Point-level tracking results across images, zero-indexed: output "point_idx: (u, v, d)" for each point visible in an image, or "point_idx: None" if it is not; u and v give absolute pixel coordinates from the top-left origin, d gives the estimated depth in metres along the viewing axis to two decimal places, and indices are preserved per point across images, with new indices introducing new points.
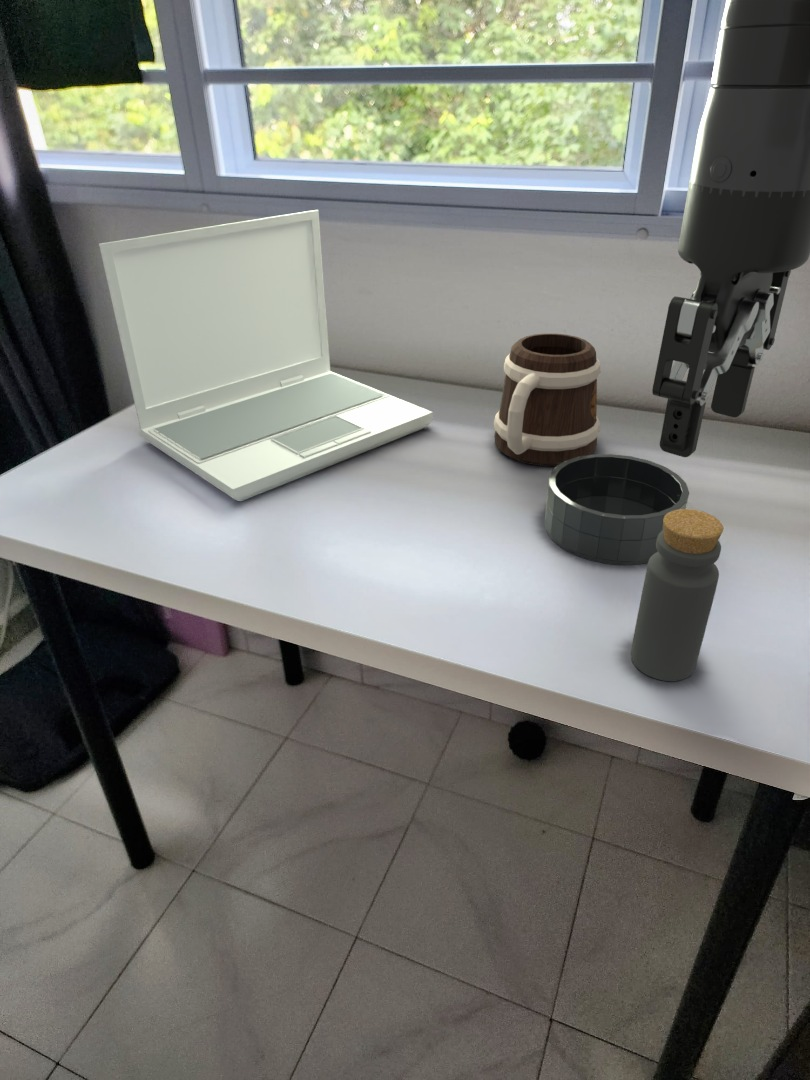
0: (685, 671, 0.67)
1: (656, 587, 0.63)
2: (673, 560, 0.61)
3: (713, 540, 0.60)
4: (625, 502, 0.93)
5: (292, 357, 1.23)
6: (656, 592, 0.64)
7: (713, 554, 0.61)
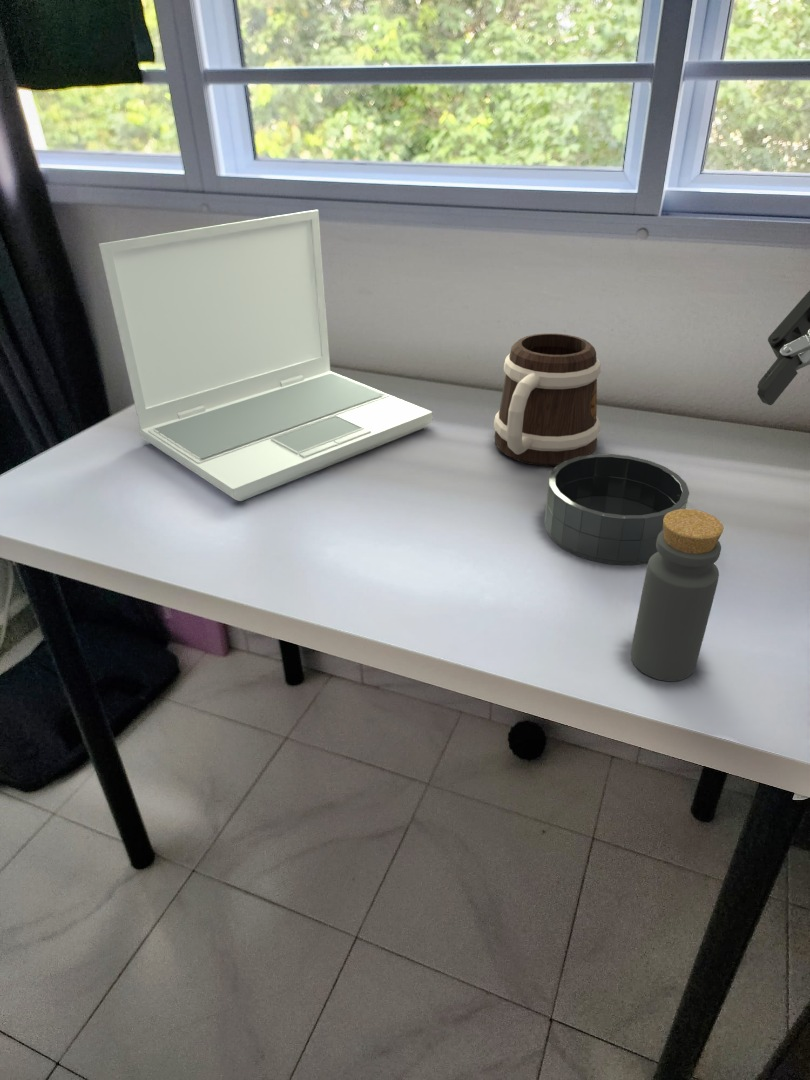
0: (685, 671, 0.67)
1: (656, 587, 0.63)
2: (673, 560, 0.61)
3: (713, 540, 0.60)
4: (625, 502, 0.93)
5: (292, 357, 1.23)
6: (656, 592, 0.64)
7: (713, 554, 0.61)
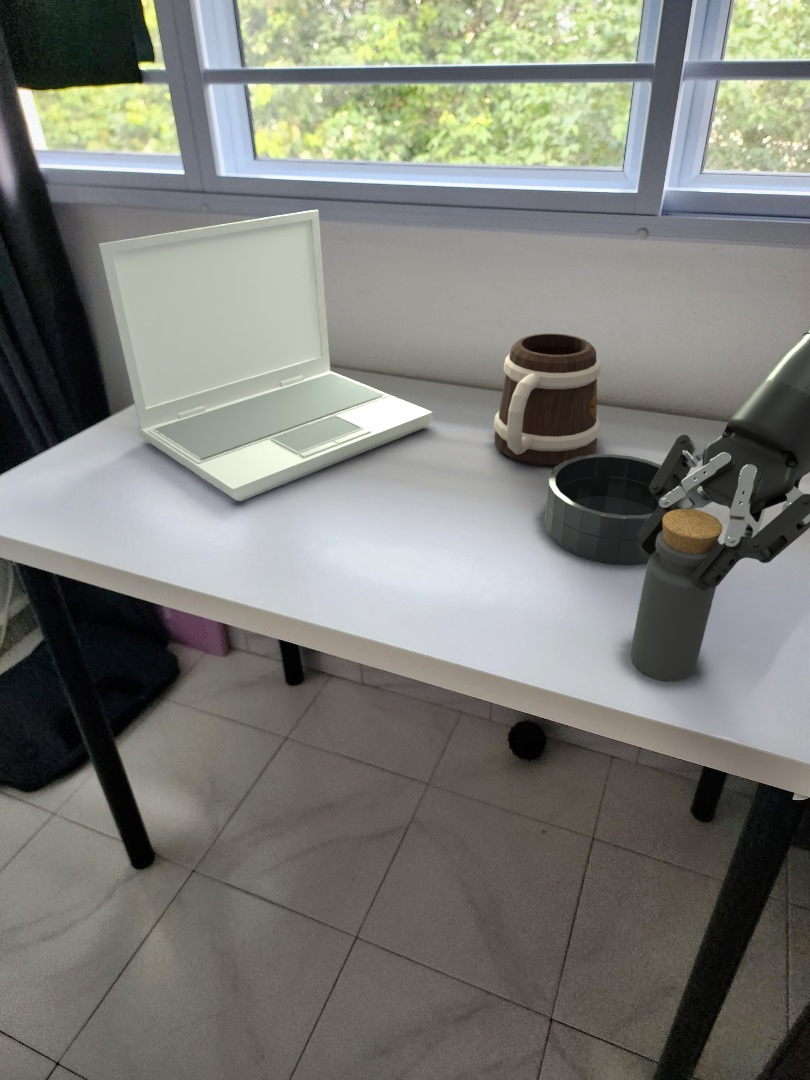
0: (685, 671, 0.67)
1: (656, 587, 0.63)
2: (672, 560, 0.61)
3: (712, 540, 0.60)
4: (625, 502, 0.93)
5: (292, 357, 1.23)
6: (656, 592, 0.64)
7: None
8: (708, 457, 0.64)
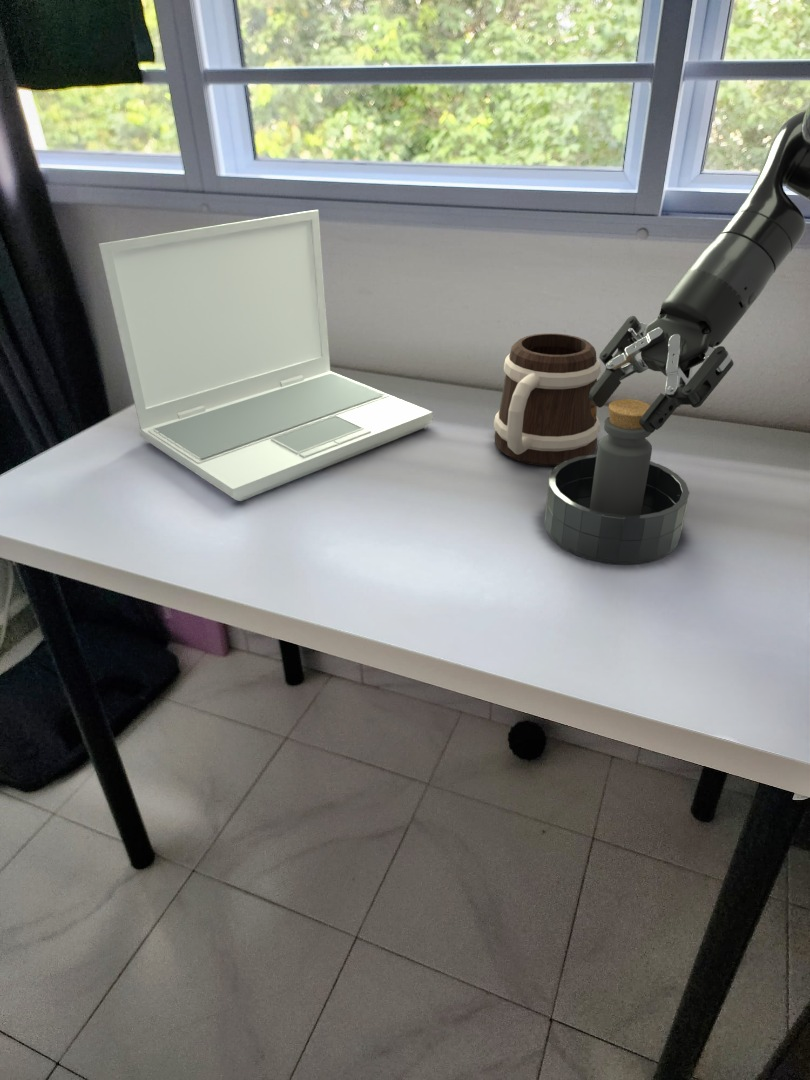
0: None
1: (604, 459, 0.83)
2: (616, 435, 0.81)
3: None
4: None
5: (292, 357, 1.23)
6: (604, 463, 0.83)
7: None
8: (646, 334, 0.81)
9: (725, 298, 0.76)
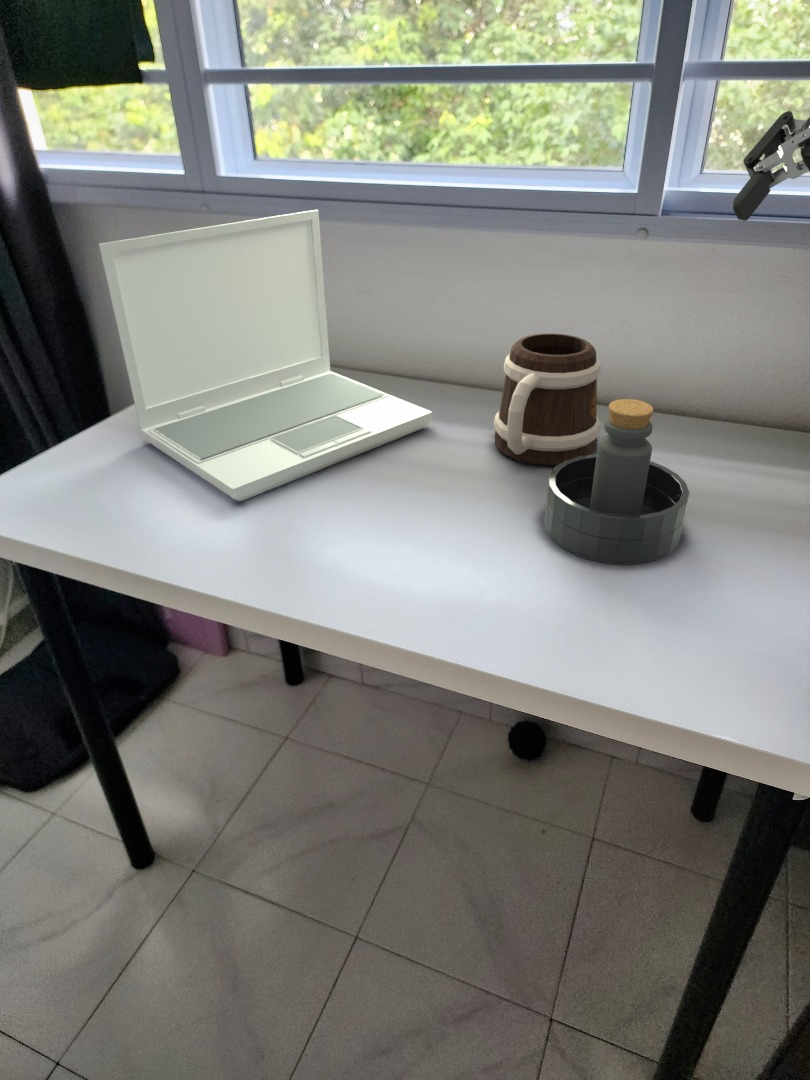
0: None
1: (604, 459, 0.83)
2: (616, 435, 0.81)
3: (645, 418, 0.80)
4: None
5: (292, 357, 1.23)
6: (604, 463, 0.83)
7: (646, 429, 0.80)
8: None
9: None
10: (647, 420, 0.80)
